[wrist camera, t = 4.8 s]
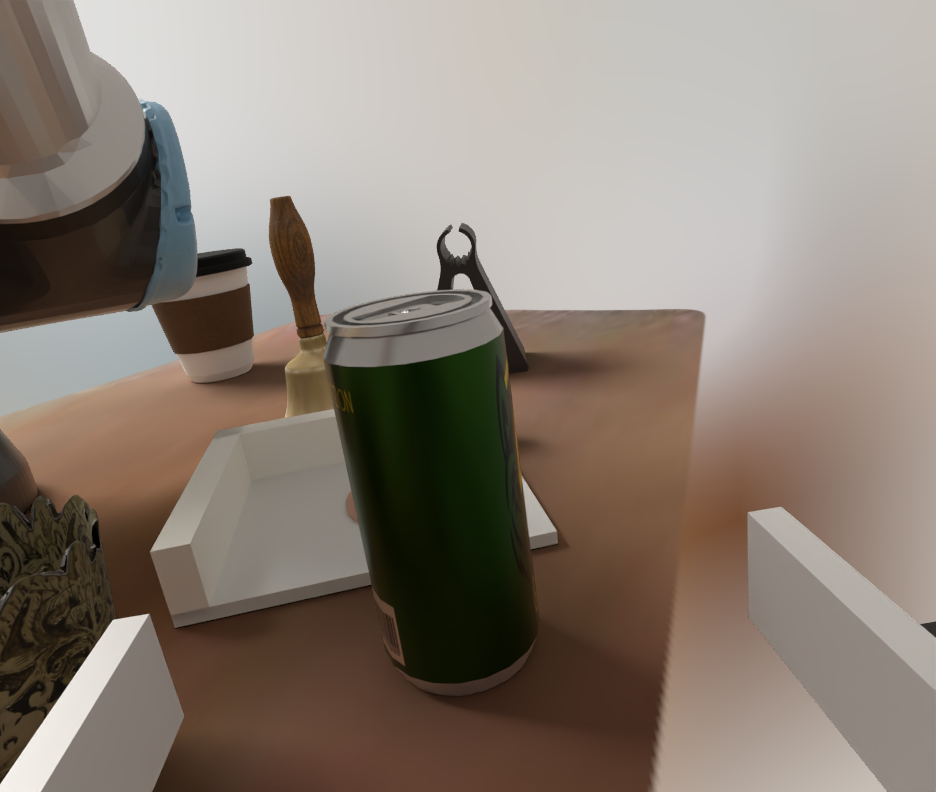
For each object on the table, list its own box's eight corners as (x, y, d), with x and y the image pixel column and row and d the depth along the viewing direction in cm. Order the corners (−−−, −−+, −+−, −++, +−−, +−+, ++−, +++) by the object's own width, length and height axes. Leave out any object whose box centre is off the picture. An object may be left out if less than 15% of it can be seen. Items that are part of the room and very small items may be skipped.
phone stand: (524, 352, 59) (509, 216, 56) (528, 370, 54) (511, 220, 50) (426, 364, 60) (404, 231, 56) (420, 384, 54) (395, 237, 51)
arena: (174, 627, 26) (149, 552, 25) (232, 484, 39) (217, 430, 38) (558, 543, 28) (550, 469, 27) (490, 433, 41) (483, 381, 40)
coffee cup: (190, 397, 61) (152, 267, 57) (150, 382, 68) (116, 267, 65) (294, 364, 67) (267, 246, 64) (248, 354, 75) (221, 248, 72)
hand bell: (249, 459, 43) (184, 210, 38) (309, 413, 51) (261, 201, 46) (364, 456, 41) (310, 191, 36) (409, 409, 48) (369, 184, 44)
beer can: (441, 732, 19) (367, 338, 16) (361, 644, 24) (288, 319, 20) (574, 645, 22) (537, 293, 18) (481, 580, 26) (435, 284, 23)
